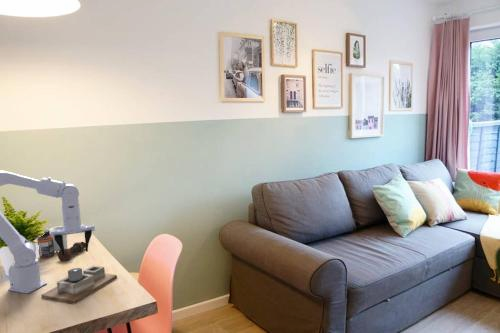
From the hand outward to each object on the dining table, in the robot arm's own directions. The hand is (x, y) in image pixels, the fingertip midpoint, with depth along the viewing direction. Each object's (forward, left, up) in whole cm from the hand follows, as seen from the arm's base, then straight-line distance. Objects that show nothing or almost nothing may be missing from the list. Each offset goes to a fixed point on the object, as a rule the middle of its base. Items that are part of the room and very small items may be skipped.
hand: (75, 252), depth 138 cm
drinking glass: (-31, +21, -10) cm, 39 cm away
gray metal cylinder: (+8, -9, -8) cm, 15 cm away
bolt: (-19, +18, -10) cm, 28 cm away
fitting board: (+8, -7, -9) cm, 14 cm away
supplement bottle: (-30, +13, -10) cm, 34 cm away
